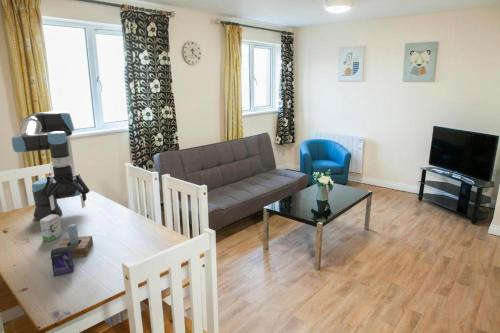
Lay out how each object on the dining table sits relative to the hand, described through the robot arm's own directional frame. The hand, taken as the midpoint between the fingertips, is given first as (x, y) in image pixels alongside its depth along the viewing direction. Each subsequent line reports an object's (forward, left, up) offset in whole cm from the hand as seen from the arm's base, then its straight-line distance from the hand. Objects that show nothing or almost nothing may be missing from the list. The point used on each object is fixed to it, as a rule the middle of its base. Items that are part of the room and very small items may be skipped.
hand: (68, 208), depth 164 cm
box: (+18, +1, -23) cm, 30 cm away
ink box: (-18, -17, -23) cm, 34 cm away
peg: (+1, 0, -23) cm, 23 cm away
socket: (+1, 0, -23) cm, 23 cm away
